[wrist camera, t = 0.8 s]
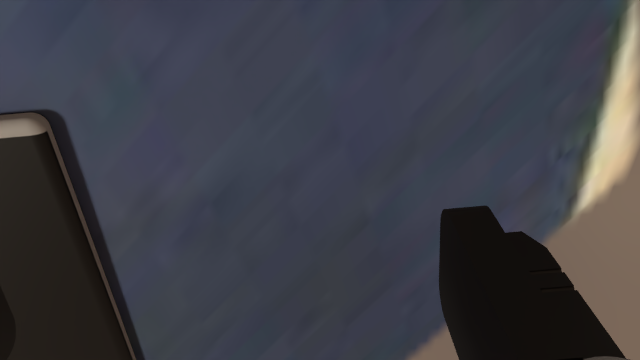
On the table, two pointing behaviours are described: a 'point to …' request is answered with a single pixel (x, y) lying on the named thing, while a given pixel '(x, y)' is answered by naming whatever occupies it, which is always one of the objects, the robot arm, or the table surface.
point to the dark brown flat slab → (50, 254)
